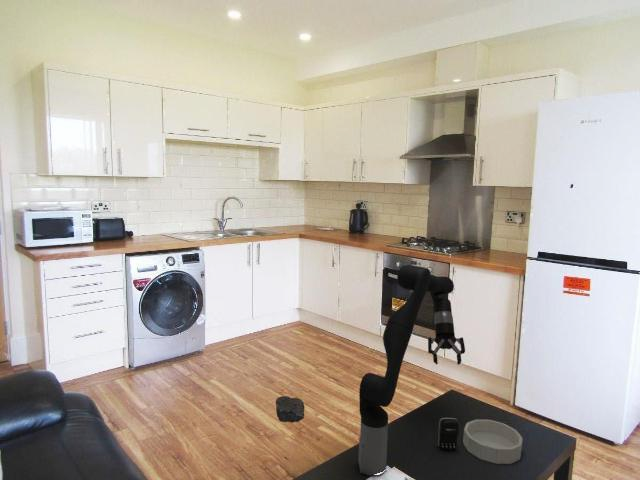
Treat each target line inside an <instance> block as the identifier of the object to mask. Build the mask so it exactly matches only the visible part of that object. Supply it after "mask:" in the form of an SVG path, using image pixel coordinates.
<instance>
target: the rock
mask: <svg viewBox="0 0 640 480" xmlns="http://www.w3.org/2000/svg"><path fill="white" fill-rule="evenodd" d="M304 403H305V402H304V401H303V400H302V398H301V399H300V398H298V397H290V396H289V395H288V396H286V395H281V396H279V397H277V398H276V400H275V407H276V408H275V411H276V416H277V419H278V421H279V422H282V423H292V424H293V423H299V422H301V421H302V420H304V417H305V404H304Z"/></svg>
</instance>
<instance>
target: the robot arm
mask: <svg viewBox="0 0 640 480" xmlns="http://www.w3.org/2000/svg"><path fill="white" fill-rule="evenodd" d="M396 280H397V284H398V286H399V287H400V288H402V289H403V290H408V291H412V293H411V294H410V297H409V298H408V299H407V300H406V302H405V303H404V304H403V305H402V306H401V307H399V308H398V309H397V310H395V311H394V312H393V313H392V314H391V315H390V316H389V318H388V320H387V322H386V325H385V328H384V331H383V335H382V342H383V347H384V351H385V356H386V361H387V362H386V364H387V365H386V371H385V375H384V376H383V375H380V374H376V373H372V372H367V373H365V374H364V375H363V377H362V378H361V380H360V383H359V384H360V385H359V389H358V390H359V391H358V393H359V394H358V395H359V396H358V397H359V398H358V399H359V414H360V431H359V433H360V434H359V435H360V436H359V437H358V461H357V462H358V463H357V464H358V467H359V473H360V474H364V475H367V476H370V477H372V476H371V475H374V474H377V473H380V472H383V471H384V470H385V469H386V470H387V456H388V454H387V452H388V429H389V414H388V411H386V410H385V409H384V408H387V407H389V405H390V404H391V403H392V401H393V399H394V396H395V393H396V389H397V385H398V381H399V377H400V373H401V368H402V365H403V362H404V358H405V354H406V352H407V348H408V347H409V344H410V340H411V337H412V335H413V330H414V327H415V324H416V320H417V317H418V313H419V311H420V308H421V305H422V303H423V301H424V298H425V296H426V294H427V292H428V293H429V295H430V297H431V301H432V305H433V311H434V314H433V315H434V316H433V317H434V331H435V338H434V337H431V336H430V337H428V339H427V353H428V354H431V355H432V358H433V363H434V364H435V365H438V364H439V362H438V352H439V350H440V349H441V350H452V351H453V352H454V353H455V354H456V360H457V365H461V363H462V354H463V355H464V354H465V353H466V347H465V340H464V337H458V338H456V336H455V326H454V318H453V317H454V316H453V312H452V304H451V303H452V302H451V300H450V299H448V298H443V297H442V298H441V297H439V296H442V295H443V296H444V295H448V294H450V293H452V292H453V291H454V289H455V288H454V287H455V286H454V285H455V284H454V282H453V280H452V279H451V278H450V277H448V276H437V275H434V274H431V270H430V269H429V268H428V267H425V266H424V267H423V266H417V265H412V264H411V265H410V264H404V265H402V266H401V267H400V268H399V269H398V272H397V277H396ZM434 343H436V345H437V346H436V347H435V348H434V350H432V347H433V346H432V344H434ZM456 343H457V344H459V347H460V349H459V348H458V346H457V345H456ZM383 407H384V408H383Z"/></svg>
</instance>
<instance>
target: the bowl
mask: <svg viewBox="0 0 640 480" xmlns="http://www.w3.org/2000/svg"><path fill="white" fill-rule="evenodd" d="M462 444H463V445H464V447H465V449H466V450H467V452H469V453H470V454H471V455H472V456H474V457H476V458H478V459H480V460H483V461H484V462H489V463H491V464H494V465H495V464H496V465H504V464H505V465H512V464H513V463H515V462H517V461H520V460H521V458H522V457H521V456H522V451H523V450H522V448H523V437H522V435H521V434H520V433H519V432H518V430H517V429H516V428H513V427H512V426H509V425H507V424H505V423H503V422H501V421H500V422H499V421H496V420H493V419H474V420H470V421H468V422H466V423H465V426H464V429H463V443H462Z"/></svg>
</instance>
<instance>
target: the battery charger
mask: <svg viewBox="0 0 640 480" xmlns="http://www.w3.org/2000/svg"><path fill="white" fill-rule="evenodd" d="M438 423H439V424H438V442H437V443H438V444H437V446H438V448H439V449H440V450H443V451H447V450H448V451H456V450H457V449H458V444H457V443H458V436H459V435H460V424H459V421H458V419H457V418H456V417H441V418H440V419H439V422H438Z"/></svg>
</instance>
